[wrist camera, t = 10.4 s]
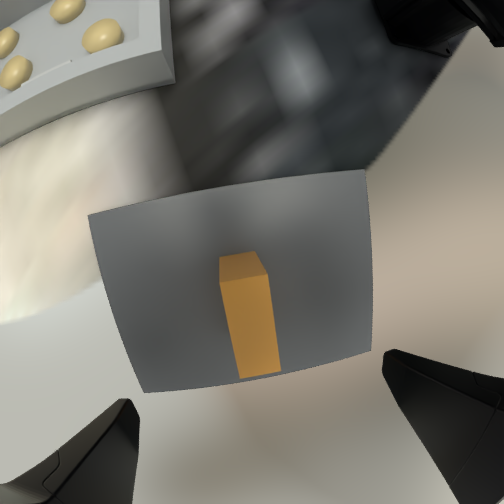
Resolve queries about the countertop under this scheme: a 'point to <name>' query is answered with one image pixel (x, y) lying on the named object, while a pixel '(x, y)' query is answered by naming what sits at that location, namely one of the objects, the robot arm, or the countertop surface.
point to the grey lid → (240, 279)
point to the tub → (77, 56)
